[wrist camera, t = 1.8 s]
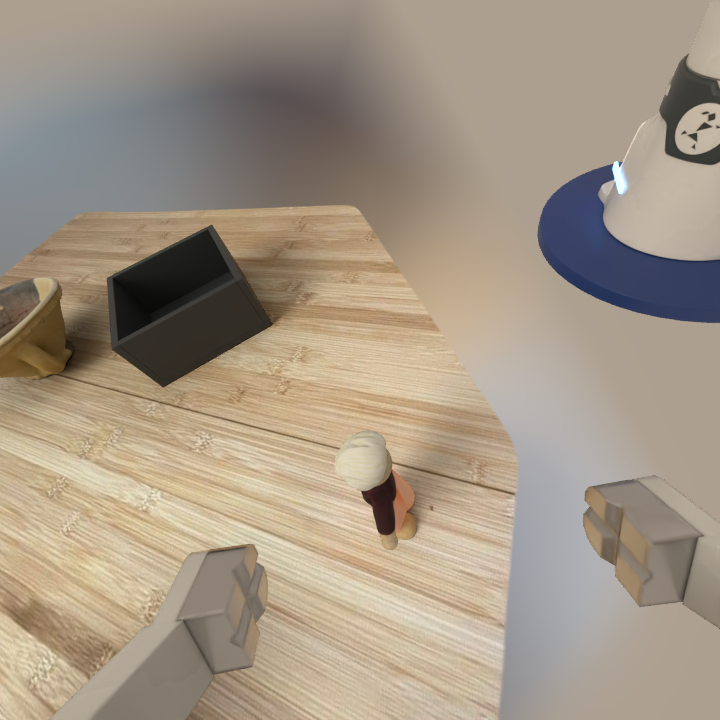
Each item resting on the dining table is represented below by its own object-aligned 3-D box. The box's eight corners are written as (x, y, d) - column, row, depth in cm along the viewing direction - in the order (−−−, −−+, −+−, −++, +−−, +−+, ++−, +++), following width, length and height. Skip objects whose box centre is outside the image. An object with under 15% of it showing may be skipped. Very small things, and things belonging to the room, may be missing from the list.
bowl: (129, 337, 49) (71, 290, 42) (12, 437, 42) (-83, 401, 35) (84, 303, 58) (29, 258, 50) (-19, 381, 51) (-101, 343, 44)
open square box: (240, 269, 53) (211, 224, 47) (272, 324, 44) (242, 278, 38) (149, 317, 51) (106, 277, 45) (163, 387, 42) (111, 349, 35)
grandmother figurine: (437, 540, 25) (428, 500, 15) (392, 564, 25) (353, 538, 15) (394, 453, 30) (365, 379, 20) (356, 472, 30) (307, 407, 20)
